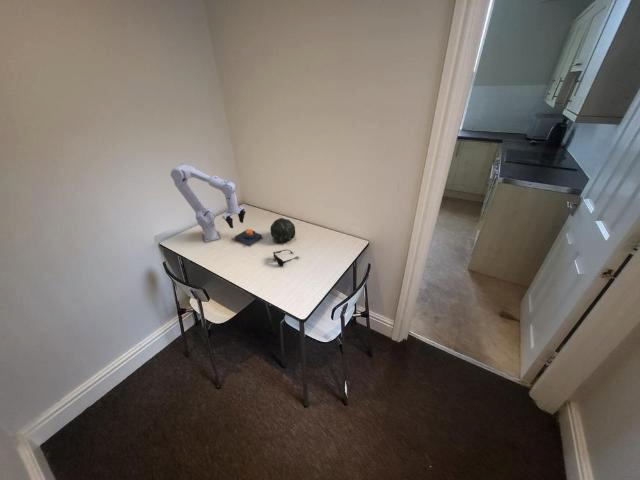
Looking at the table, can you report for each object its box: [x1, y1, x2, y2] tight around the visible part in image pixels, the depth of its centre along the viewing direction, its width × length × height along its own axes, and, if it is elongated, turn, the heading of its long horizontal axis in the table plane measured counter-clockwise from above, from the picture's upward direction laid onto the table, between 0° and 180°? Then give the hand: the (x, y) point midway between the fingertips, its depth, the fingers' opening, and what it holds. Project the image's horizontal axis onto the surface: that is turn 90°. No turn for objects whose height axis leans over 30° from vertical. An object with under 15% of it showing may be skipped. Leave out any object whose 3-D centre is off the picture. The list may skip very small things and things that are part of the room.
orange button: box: [245, 228, 254, 235], centre depth 150 cm, size 4×4×2 cm
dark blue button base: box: [234, 228, 263, 247], centre depth 152 cm, size 12×10×4 cm
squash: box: [269, 217, 296, 243], centre depth 150 cm, size 14×15×15 cm
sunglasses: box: [272, 249, 299, 267], centre depth 135 cm, size 10×12×5 cm
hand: (236, 225), depth 148 cm, fingers open, 7 cm apart
